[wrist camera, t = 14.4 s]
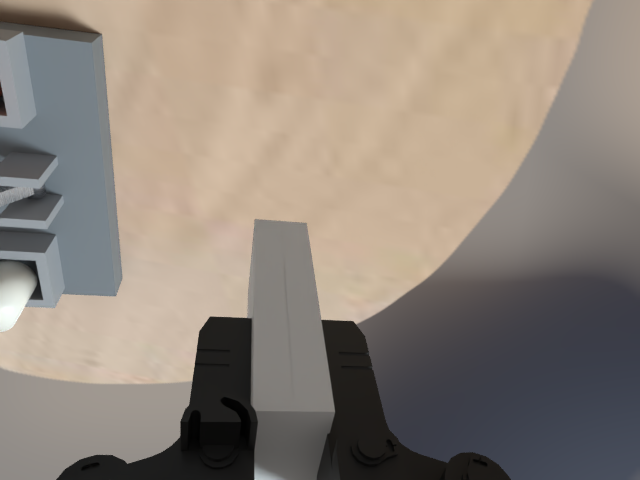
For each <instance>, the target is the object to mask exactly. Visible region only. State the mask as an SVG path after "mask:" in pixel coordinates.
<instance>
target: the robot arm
mask: <svg viewBox="0 0 640 480" xmlns="http://www.w3.org/2000/svg"><path fill="white" fill-rule="evenodd" d="M56 480H511V479H510V478H509V476H508V475H507V474H506V473H505V472H504V470H503V469H502V468H501V467H500V466H499V465H498V464H497V463H495V462H493V461H492V460H490V459H489V458H487V457H486V456H483V455H480V454H476V453H473V452H472V453H471V452H470V453H460V454H458V455H456V456H454V457H452V458H451V459H450V461H449V462H448V463H446V462H443V461H439V460H436V459H433V458H430V457H427V456H424V455H421V454H418V453H416V452H413V451H411V450H410V449H408V448H407V447H405V446H404V445H402V444H401V443H400V442H399V440H398V438H397V437H396V436H394V434H393V433H392V432H391V431H390V430H389V428H388V426H387V423H386V420H385V416H384V412H383V408H382V404H381V400H380V396H379V392H378V388H377V384H376V380H375V376H374V372H373V370H372V363H371V359H370V356H369V351H368V348H367V343H366V339H365V336H364V335H363V333H362V332H361V331H360V329H359V328H358V327H357V325H356V324H355V323H354V322H353V321H335V320H321V315H320V308H319V301H318V295H317V288H316V282H315V275H314V268H313V262H312V255H311V248H310V242H309V235H308V229H307V223H300V222H286V221H273V220H259V219H255V223H254V234H253V245H252V256H251V267H250V277H249V288H248V315H247V318H232V317H210V318H209V319H208V320H207V322H206V323H205V324H204V326H203V327H202V329H201V330H200V331H199V338H198V345H197V353H196V360H195V367H194V375H193V382H192V389H191V397H190V404H189V406H188V407H187V408H186V409H185V412H184V414H183V417H182V419H181V436H180V438H179V439H178V440H177V441H176V442H175V443H174V444H173V445H172V446H171V447H169V448H168V449H166V450H165V451H163V452H161V453H159V454H157V455H154V456H152V457H149V458H146V459H142V460H139V461H136V462H132V463H129V464H127V463H126V462H125V461H124V460H122V459H119V458H117V457H115V456H113V455H94V456H91V457H87V458H84V459H81V460H79V461H77V462H76V463H74V464H73V465H71V466H69V467H68V468H66V469H65V470H64V471H63V473H62V474H61V475H60V476H59V477H58V478H57V479H56Z"/></svg>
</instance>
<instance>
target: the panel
mask: <svg viewBox="0 0 640 480" xmlns="http://www.w3.org/2000/svg"><path fill="white" fill-rule="evenodd" d="M0 82H1V87H2V92H3V95H2V96H1V97H0V186H12V187H25V188H39V189H40V188H41V187H42V185H43V184H44V183H45V187H46V193H47V195H46V196H45V197H44V198H42V199H36V200H33V199H28V198H27V197H26V198H23V199H20V200H17V201H15V202H12V203H9V204H6V205H4V206H1V207H0V261H2V260H14V261H18V262H21V263H23V264H25V265H27V266H28V267H30V268H31V269H32V270H33V271H34V273H35V274H36V276H37V281H38V282H37V286H36V288H35V290H34V291H33V293H32V295H31V297H30V298H29V300H28V302H27V303H26V305H25V307H45V308H55V307H56V305H57V303H58V301H59V299H60V297H61V295H62V294H75V295H97V296H116V295H117V292H118V289H119V286H120V283H121V281H122V268H121V256H120V244H119V232H118V220H117V208H116V197H115V185H114V173H113V161H112V149H111V137H110V125H109V113H108V101H107V89H106V77H105V65H104V53H103V41H102V34H96V33H88V32H80V31H72V30H64V29H56V28H48V27H40V26H32V25H24V24H16V23H8V22H0Z"/></svg>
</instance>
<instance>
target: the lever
mask: <svg viewBox="0 0 640 480" xmlns="http://www.w3.org/2000/svg"><path fill="white" fill-rule="evenodd" d="M46 195H47V193H46V187H45V183H44V184H43V185H42V187H41V188H40V189H39V188H25V187H12V186H0V207H1V206H4V205H6V204H9V203H12V202H15V201H17V200H20V199H23V198H26V197H27V198H28V199H33V200H36V199H42V198H44V197H45V196H46Z"/></svg>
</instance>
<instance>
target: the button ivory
mask: <svg viewBox="0 0 640 480" xmlns="http://www.w3.org/2000/svg"><path fill="white" fill-rule="evenodd" d="M37 282H38V281H37V276H36V274H35V273H34V271H33V270H32V269H31V268H30V267H28V266H27V265H25V264H23V263H21V262H18V261H14V260H2V261H0V332H3V331H7V330H9V329H10V328H12V327H13V326H14V324H15V323H16V321H17V319H18V317H19V316H20V314H21V312H22V310H23V309H24V307H25V305H26V303H27V302H28V300H29V298H30V297H31V295H32V293H33V291H34V290H35V288H36V286H37Z"/></svg>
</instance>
